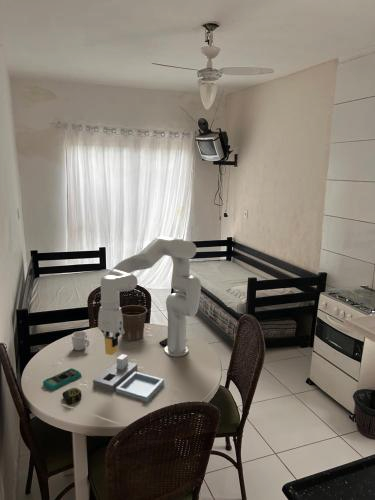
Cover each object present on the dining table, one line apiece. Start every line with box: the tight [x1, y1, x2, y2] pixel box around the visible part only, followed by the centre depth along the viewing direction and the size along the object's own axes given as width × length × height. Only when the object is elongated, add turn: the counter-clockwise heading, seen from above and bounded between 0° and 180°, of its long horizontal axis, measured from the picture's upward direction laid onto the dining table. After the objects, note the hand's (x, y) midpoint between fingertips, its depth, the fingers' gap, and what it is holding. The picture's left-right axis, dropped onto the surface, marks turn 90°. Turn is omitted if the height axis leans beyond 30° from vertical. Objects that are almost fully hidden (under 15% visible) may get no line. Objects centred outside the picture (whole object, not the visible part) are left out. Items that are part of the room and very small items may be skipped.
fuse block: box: [92, 361, 138, 393], centre depth 166 cm, size 20×10×4 cm, turn 156°
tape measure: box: [62, 387, 83, 405], centre depth 150 cm, size 7×7×4 cm
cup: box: [71, 330, 90, 351], centre depth 193 cm, size 11×8×8 cm
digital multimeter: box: [42, 368, 82, 392], centre depth 164 cm, size 8×15×3 cm, turn 141°
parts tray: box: [115, 371, 165, 404], centre depth 159 cm, size 15×15×2 cm
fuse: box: [116, 353, 129, 370], centre depth 170 cm, size 4×3×8 cm, turn 156°
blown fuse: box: [104, 332, 118, 356], centre depth 158 cm, size 4×3×8 cm, turn 155°
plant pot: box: [120, 304, 148, 342], centre depth 209 cm, size 16×16×16 cm
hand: (111, 344), depth 158 cm, fingers closed on blown fuse, 3 cm apart
